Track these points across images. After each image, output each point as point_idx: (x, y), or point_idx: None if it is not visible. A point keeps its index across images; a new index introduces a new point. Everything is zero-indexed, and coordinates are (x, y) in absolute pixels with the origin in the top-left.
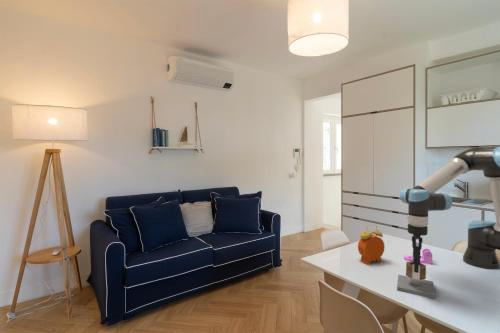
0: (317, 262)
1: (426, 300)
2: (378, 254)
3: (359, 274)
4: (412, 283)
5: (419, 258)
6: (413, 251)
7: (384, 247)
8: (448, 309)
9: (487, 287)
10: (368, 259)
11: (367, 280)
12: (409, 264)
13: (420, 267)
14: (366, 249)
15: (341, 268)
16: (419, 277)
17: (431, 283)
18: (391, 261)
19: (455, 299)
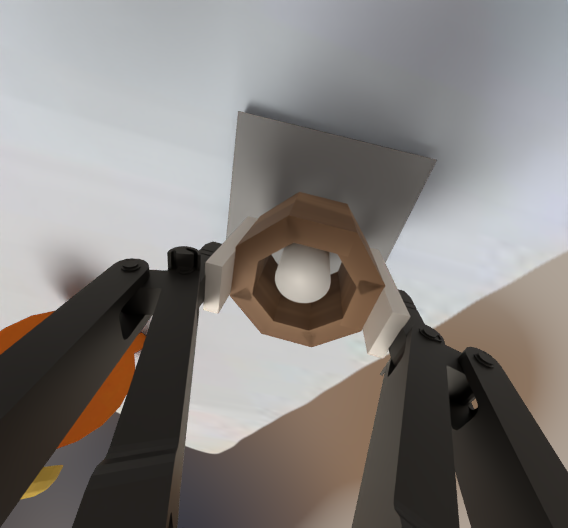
0: (219, 442)
1: (447, 211)
2: None
3: (258, 377)
4: None
5: (536, 439)
6: (192, 365)
7: (5, 328)
8: (558, 121)
9: None
10: (134, 351)
11: (299, 367)
12: (311, 331)
13: (358, 276)
14: (111, 403)
15: (233, 407)
16: (382, 258)
17: (274, 133)
18: (56, 252)
19: (429, 14)
